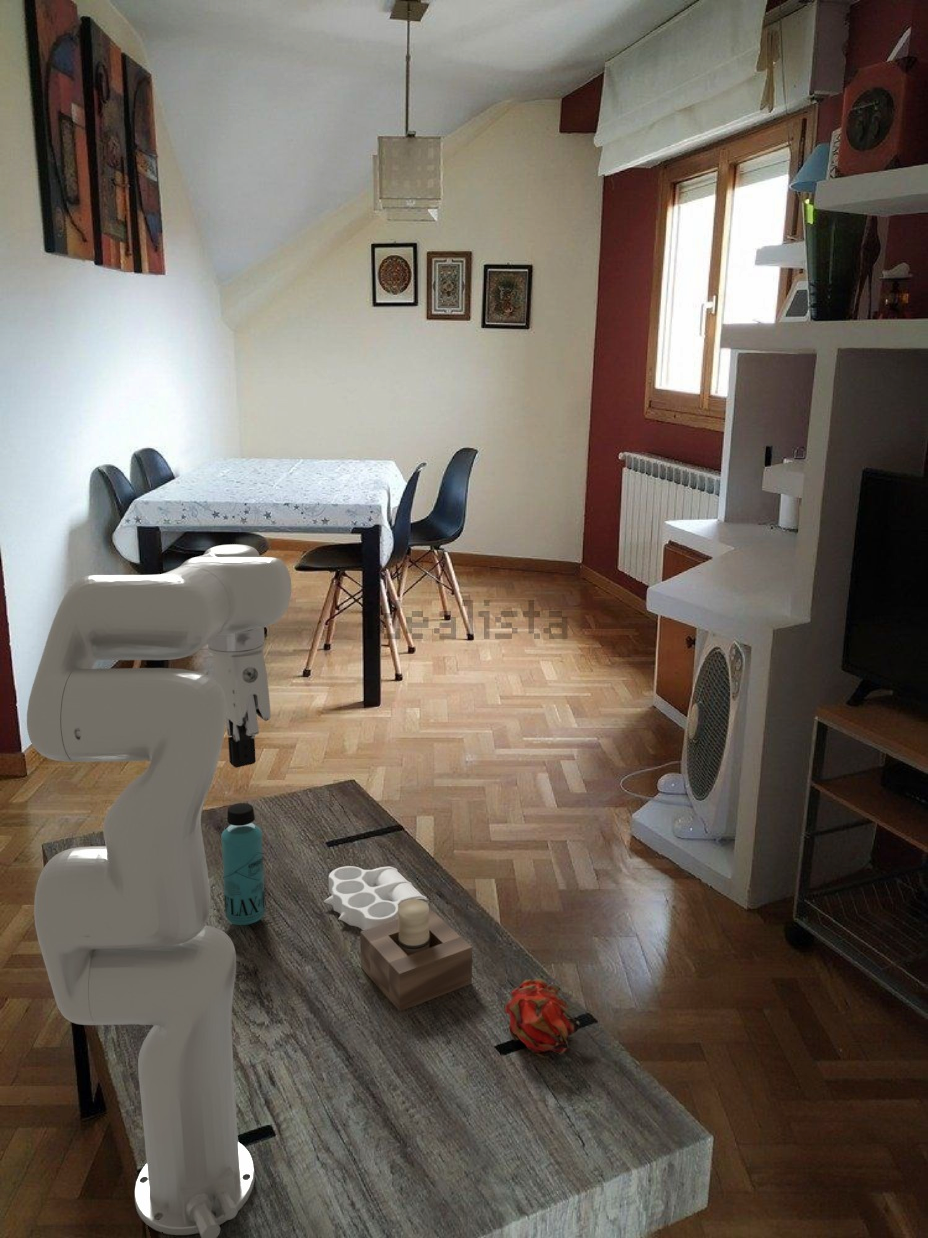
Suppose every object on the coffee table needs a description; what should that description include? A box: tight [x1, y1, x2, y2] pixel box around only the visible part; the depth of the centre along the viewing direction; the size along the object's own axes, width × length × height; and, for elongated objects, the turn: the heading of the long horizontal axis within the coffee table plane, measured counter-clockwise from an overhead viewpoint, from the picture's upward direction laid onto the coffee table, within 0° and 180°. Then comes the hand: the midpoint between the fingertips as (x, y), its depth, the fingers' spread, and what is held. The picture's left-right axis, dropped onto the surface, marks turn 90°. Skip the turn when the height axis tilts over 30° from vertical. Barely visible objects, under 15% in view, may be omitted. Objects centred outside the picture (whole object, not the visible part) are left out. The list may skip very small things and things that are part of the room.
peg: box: [398, 899, 430, 956], centre depth 143 cm, size 5×5×10 cm
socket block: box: [359, 907, 473, 1012], centre depth 144 cm, size 12×12×6 cm
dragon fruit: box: [503, 977, 581, 1059], centre depth 130 cm, size 8×8×12 cm
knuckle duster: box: [322, 865, 429, 931], centre depth 162 cm, size 3×18×15 cm
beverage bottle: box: [220, 802, 267, 926], centre depth 154 cm, size 6×7×20 cm
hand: (242, 763), depth 138 cm, fingers closed
